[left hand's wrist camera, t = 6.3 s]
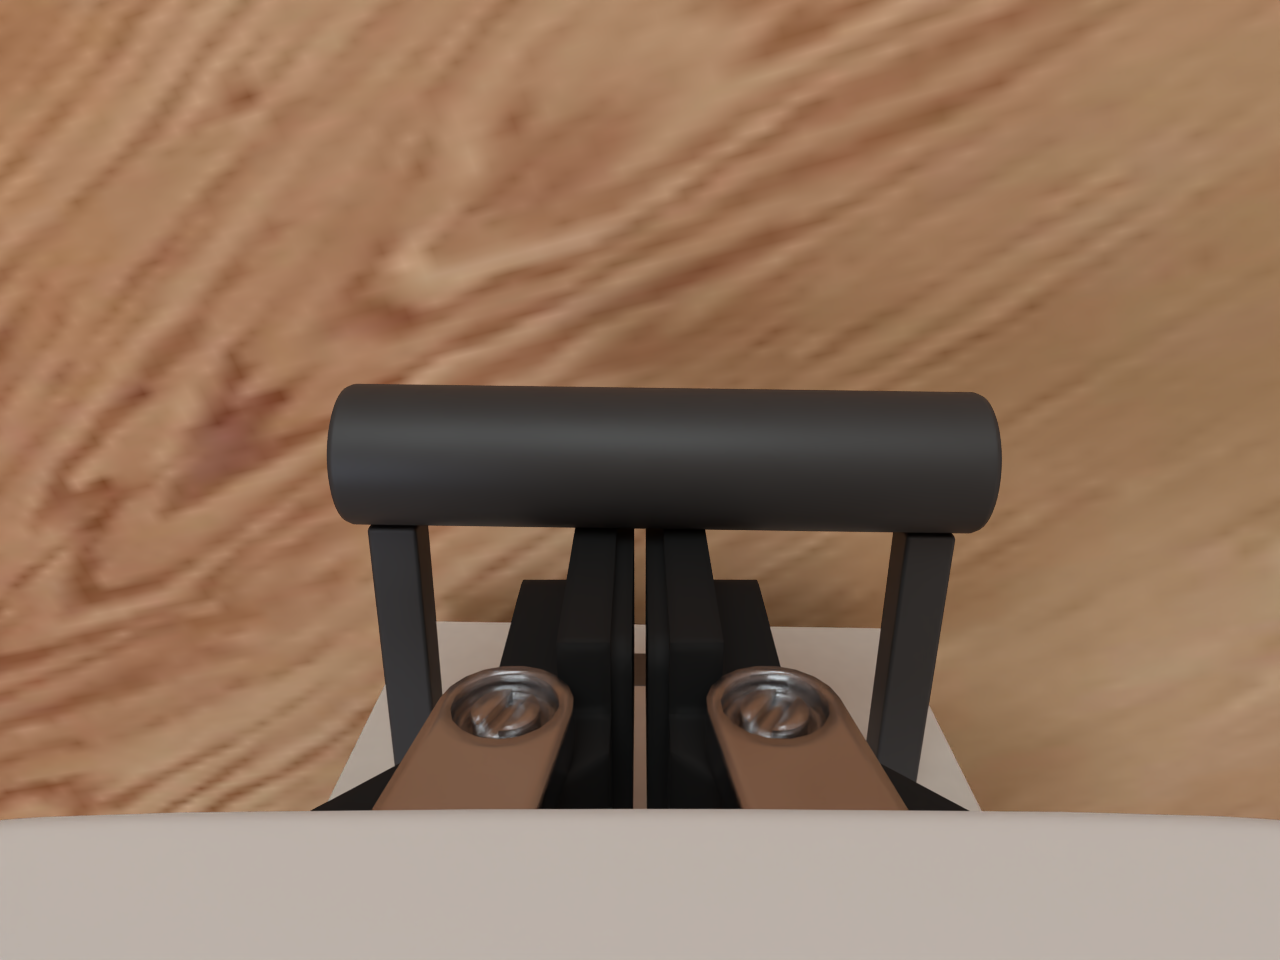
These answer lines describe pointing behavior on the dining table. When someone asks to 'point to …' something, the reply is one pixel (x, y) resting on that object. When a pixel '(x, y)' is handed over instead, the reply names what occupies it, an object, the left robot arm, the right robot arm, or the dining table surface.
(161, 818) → the left robot arm
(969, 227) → the dining table surface
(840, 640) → the drawer
